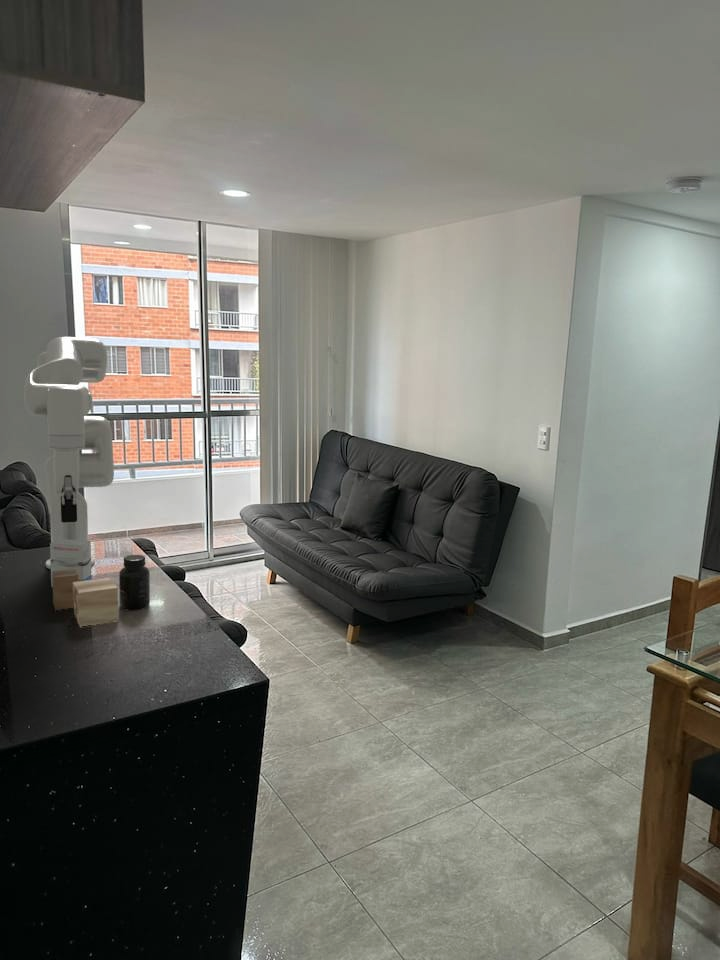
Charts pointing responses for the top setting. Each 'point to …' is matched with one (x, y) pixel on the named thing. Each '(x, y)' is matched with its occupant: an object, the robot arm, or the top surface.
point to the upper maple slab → (95, 593)
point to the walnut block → (63, 588)
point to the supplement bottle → (134, 583)
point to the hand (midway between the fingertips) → (68, 517)
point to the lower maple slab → (96, 615)
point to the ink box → (71, 557)
